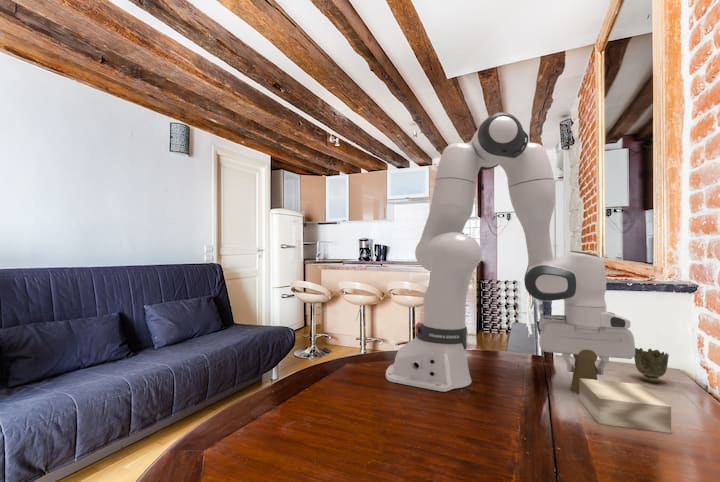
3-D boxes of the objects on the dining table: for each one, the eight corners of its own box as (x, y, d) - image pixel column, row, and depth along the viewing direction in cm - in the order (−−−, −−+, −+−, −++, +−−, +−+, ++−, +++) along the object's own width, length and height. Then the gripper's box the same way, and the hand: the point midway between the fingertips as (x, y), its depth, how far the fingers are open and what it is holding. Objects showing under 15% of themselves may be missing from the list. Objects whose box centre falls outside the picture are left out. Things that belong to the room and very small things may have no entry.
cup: (638, 383, 93) (638, 353, 93) (629, 374, 100) (629, 346, 100) (674, 388, 90) (674, 356, 91) (662, 378, 97) (661, 349, 97)
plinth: (599, 423, 70) (599, 398, 71) (579, 399, 82) (579, 378, 82) (671, 433, 67) (671, 406, 67) (639, 406, 79) (639, 384, 79)
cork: (604, 397, 83) (604, 351, 84) (576, 395, 85) (576, 349, 85) (593, 388, 89) (592, 344, 90) (566, 386, 91) (566, 342, 91)
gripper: (541, 316, 87) (541, 372, 87) (638, 321, 82) (638, 382, 81) (536, 311, 93) (536, 364, 93) (626, 317, 88) (626, 373, 88)
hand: (584, 372), depth 87 cm, fingers open, 5 cm apart
